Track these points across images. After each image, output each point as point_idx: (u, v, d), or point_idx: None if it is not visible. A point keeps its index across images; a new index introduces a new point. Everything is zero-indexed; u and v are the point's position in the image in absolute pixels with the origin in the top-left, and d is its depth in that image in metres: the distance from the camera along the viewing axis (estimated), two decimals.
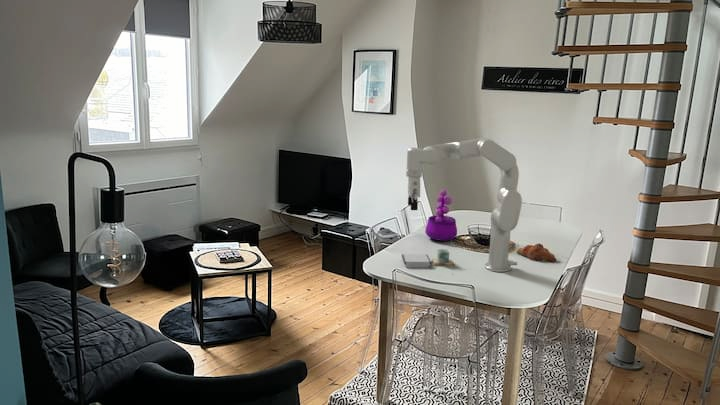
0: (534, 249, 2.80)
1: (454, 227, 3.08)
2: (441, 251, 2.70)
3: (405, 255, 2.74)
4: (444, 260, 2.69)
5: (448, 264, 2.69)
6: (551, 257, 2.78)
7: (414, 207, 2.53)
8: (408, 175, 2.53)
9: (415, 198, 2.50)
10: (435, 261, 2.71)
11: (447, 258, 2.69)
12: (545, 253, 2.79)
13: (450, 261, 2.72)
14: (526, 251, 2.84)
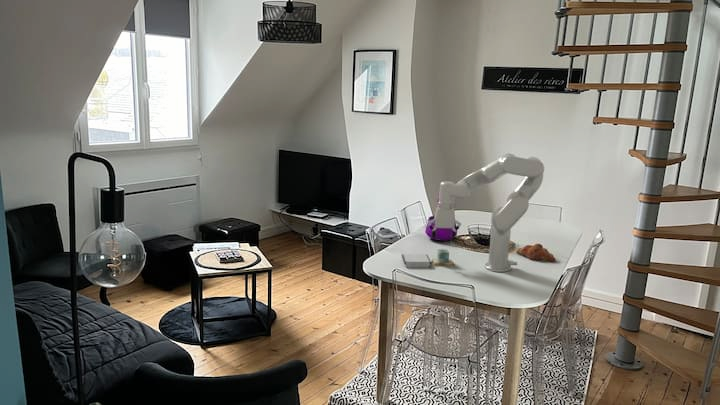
0: (533, 249, 2.80)
1: (454, 227, 3.08)
2: (441, 251, 2.70)
3: (405, 255, 2.74)
4: (444, 260, 2.69)
5: (448, 264, 2.69)
6: (550, 257, 2.78)
7: None
8: (451, 208, 2.63)
9: (459, 226, 2.68)
10: (435, 261, 2.71)
11: (447, 258, 2.69)
12: (544, 253, 2.79)
13: (450, 261, 2.72)
14: (525, 251, 2.84)
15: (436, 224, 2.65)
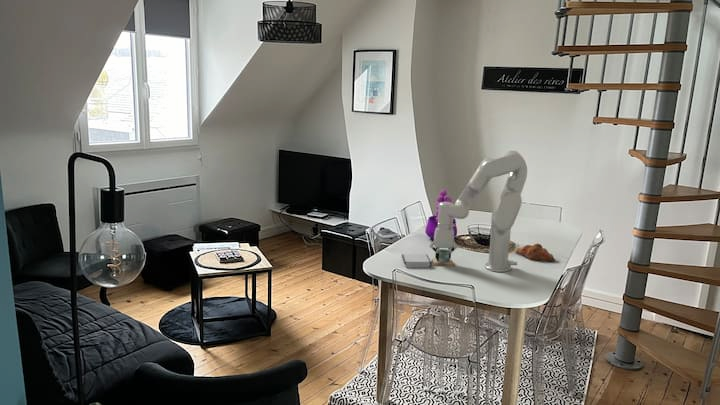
0: (533, 249, 2.80)
1: (454, 227, 3.08)
2: (441, 251, 2.70)
3: (405, 255, 2.74)
4: (444, 259, 2.69)
5: (448, 263, 2.69)
6: (549, 257, 2.78)
7: None
8: (450, 229, 2.65)
9: None
10: (435, 261, 2.71)
11: (447, 258, 2.69)
12: (544, 253, 2.79)
13: (450, 261, 2.72)
14: (525, 251, 2.84)
15: (436, 244, 2.68)
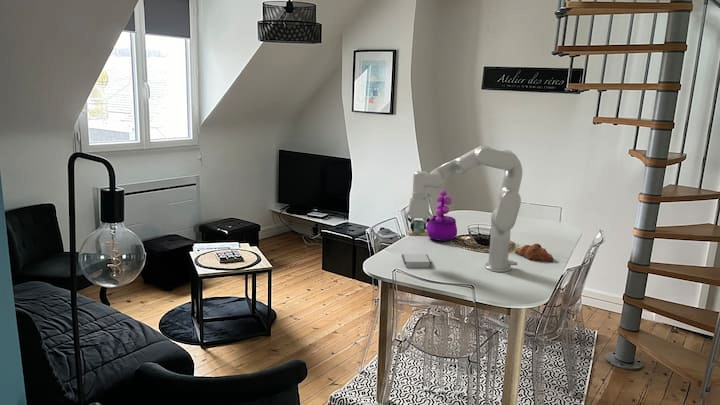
0: (532, 249, 2.80)
1: (454, 227, 3.08)
2: (416, 221, 2.66)
3: (405, 255, 2.74)
4: (419, 230, 2.65)
5: (423, 234, 2.65)
6: (548, 257, 2.78)
7: (425, 227, 2.68)
8: (425, 198, 2.61)
9: None
10: (410, 231, 2.67)
11: (422, 228, 2.65)
12: (543, 253, 2.79)
13: (425, 232, 2.68)
14: (524, 251, 2.84)
15: (410, 214, 2.64)
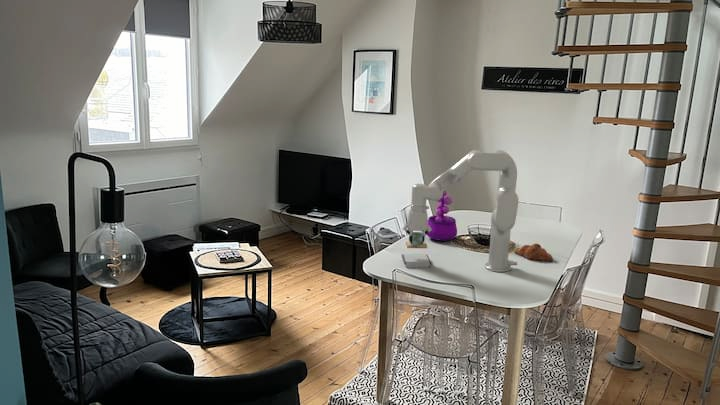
0: (531, 249, 2.80)
1: (454, 227, 3.08)
2: (414, 233, 2.67)
3: (405, 255, 2.74)
4: (418, 242, 2.67)
5: (421, 246, 2.67)
6: (548, 257, 2.78)
7: None
8: (423, 211, 2.62)
9: None
10: (408, 244, 2.69)
11: (420, 240, 2.67)
12: (542, 253, 2.79)
13: (424, 244, 2.69)
14: (523, 251, 2.84)
15: (409, 227, 2.65)
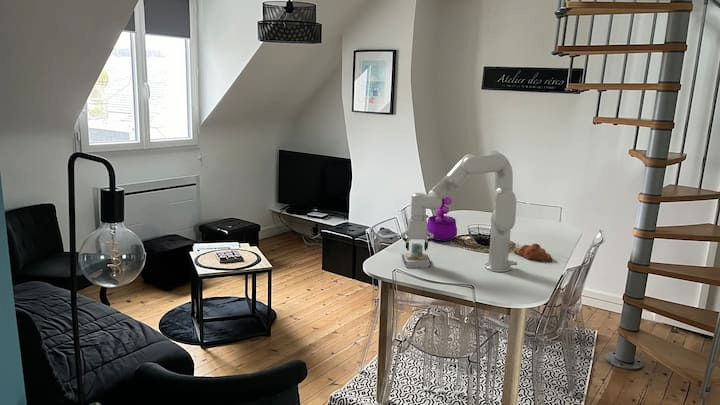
0: (530, 249, 2.80)
1: (454, 227, 3.08)
2: (414, 245, 2.69)
3: (405, 255, 2.74)
4: (418, 254, 2.68)
5: (421, 258, 2.68)
6: (547, 257, 2.78)
7: (427, 247, 2.70)
8: (423, 220, 2.63)
9: (431, 238, 2.69)
10: (409, 255, 2.70)
11: (420, 252, 2.68)
12: (541, 253, 2.79)
13: (424, 255, 2.70)
14: (523, 251, 2.85)
15: (409, 236, 2.66)
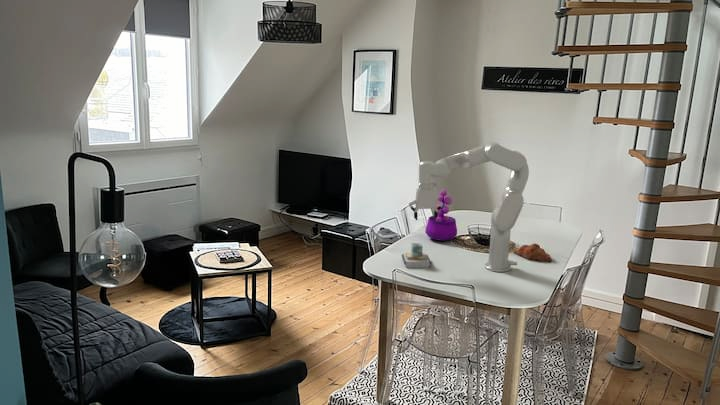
0: (530, 249, 2.80)
1: (454, 227, 3.08)
2: (414, 245, 2.69)
3: (405, 255, 2.74)
4: (418, 254, 2.68)
5: (421, 258, 2.68)
6: (546, 257, 2.78)
7: None
8: (431, 188, 2.60)
9: (441, 206, 2.65)
10: (409, 255, 2.70)
11: (420, 252, 2.68)
12: (541, 253, 2.79)
13: (424, 255, 2.70)
14: (522, 251, 2.85)
15: (417, 205, 2.63)
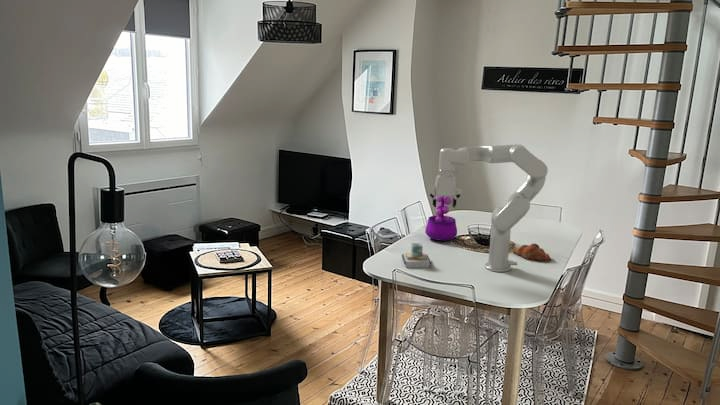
0: (529, 249, 2.80)
1: (454, 227, 3.08)
2: (414, 245, 2.69)
3: (405, 255, 2.74)
4: (418, 254, 2.68)
5: (421, 258, 2.68)
6: (546, 257, 2.78)
7: None
8: (451, 175, 2.59)
9: (460, 194, 2.64)
10: (409, 255, 2.70)
11: (420, 252, 2.68)
12: (540, 253, 2.79)
13: (424, 255, 2.70)
14: (521, 251, 2.85)
15: (437, 192, 2.62)
